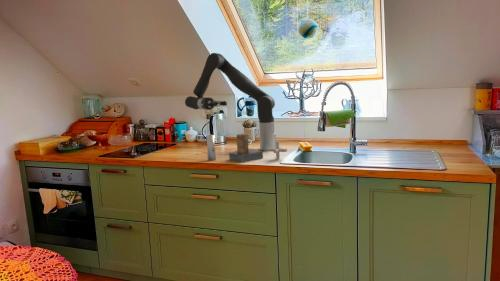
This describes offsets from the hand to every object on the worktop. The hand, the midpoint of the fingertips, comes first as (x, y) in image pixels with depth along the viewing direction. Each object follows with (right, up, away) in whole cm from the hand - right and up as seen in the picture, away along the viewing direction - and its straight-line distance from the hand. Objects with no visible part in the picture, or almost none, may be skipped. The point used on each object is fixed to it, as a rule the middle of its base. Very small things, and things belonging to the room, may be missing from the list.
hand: (220, 104), depth 224 cm
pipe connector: (+33, -32, -14) cm, 48 cm away
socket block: (+15, -31, -11) cm, 37 cm away
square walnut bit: (+14, -32, -12) cm, 37 cm away
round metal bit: (-4, -32, -10) cm, 34 cm away
